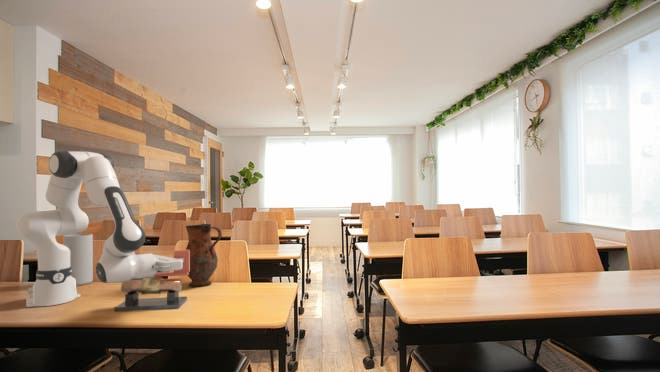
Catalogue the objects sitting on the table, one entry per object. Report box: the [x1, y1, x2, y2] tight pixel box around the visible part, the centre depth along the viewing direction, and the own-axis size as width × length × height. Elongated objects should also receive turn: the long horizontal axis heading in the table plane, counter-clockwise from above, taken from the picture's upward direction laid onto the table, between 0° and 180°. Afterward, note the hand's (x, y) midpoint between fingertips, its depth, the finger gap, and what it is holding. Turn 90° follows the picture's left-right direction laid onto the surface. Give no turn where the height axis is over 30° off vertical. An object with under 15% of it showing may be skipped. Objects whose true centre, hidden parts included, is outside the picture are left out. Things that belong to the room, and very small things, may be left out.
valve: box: [114, 276, 188, 312], centre depth 146 cm, size 24×11×11 cm, turn 96°
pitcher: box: [185, 223, 223, 288], centre depth 178 cm, size 17×21×30 cm
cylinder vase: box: [62, 233, 94, 287], centre depth 184 cm, size 12×12×25 cm
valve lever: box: [148, 249, 190, 278], centre depth 147 cm, size 16×3×11 cm, turn 98°
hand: (181, 259), depth 146 cm, fingers closed
